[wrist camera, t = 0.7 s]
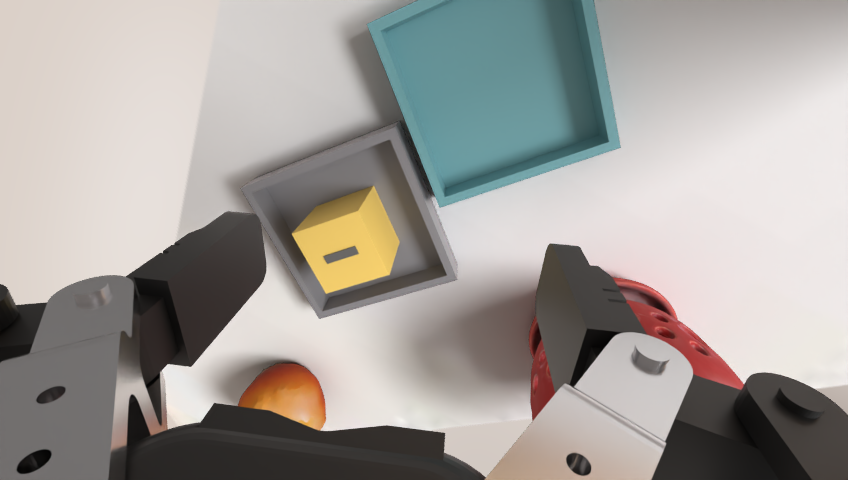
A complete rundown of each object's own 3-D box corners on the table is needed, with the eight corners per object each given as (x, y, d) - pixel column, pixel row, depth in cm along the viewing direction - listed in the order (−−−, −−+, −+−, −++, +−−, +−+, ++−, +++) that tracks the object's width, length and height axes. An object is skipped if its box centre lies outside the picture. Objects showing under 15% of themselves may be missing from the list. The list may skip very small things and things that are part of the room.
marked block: (373, 185, 30) (358, 211, 25) (399, 242, 32) (389, 275, 27) (316, 206, 31) (290, 234, 26) (344, 259, 33) (325, 294, 28)
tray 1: (399, 120, 28) (394, 127, 26) (457, 264, 33) (457, 279, 30) (255, 178, 31) (240, 188, 29) (327, 302, 35) (319, 318, 33)
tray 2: (568, -65, 22) (579, -76, 20) (608, 139, 27) (620, 147, 25) (374, 25, 25) (366, 24, 23) (441, 196, 30) (439, 207, 28)
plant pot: (505, 278, 33) (526, 392, 22) (677, 251, 30) (793, 363, 20) (525, 391, 38) (550, 527, 28) (672, 376, 36) (762, 518, 25)
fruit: (222, 362, 38) (225, 425, 31) (306, 334, 41) (324, 387, 34) (243, 420, 41) (250, 488, 35) (319, 391, 44) (338, 449, 38)
